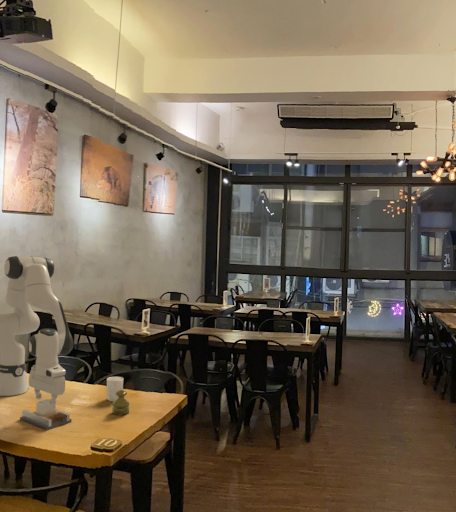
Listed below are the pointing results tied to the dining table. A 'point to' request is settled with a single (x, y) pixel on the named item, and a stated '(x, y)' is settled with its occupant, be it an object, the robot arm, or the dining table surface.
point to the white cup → (114, 387)
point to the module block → (45, 407)
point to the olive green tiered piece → (120, 404)
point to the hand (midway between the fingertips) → (45, 401)
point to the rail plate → (46, 419)
